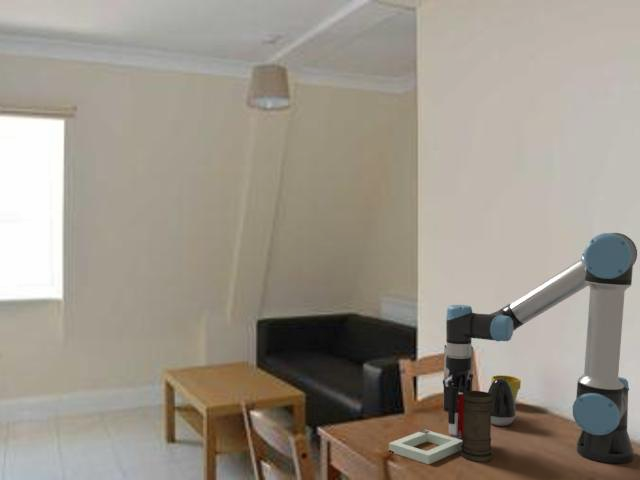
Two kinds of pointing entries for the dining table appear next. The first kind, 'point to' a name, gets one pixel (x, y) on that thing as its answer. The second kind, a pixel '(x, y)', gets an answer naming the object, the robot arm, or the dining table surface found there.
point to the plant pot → (510, 383)
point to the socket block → (408, 450)
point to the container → (477, 426)
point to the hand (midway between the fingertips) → (457, 431)
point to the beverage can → (459, 416)
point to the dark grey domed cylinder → (502, 403)
